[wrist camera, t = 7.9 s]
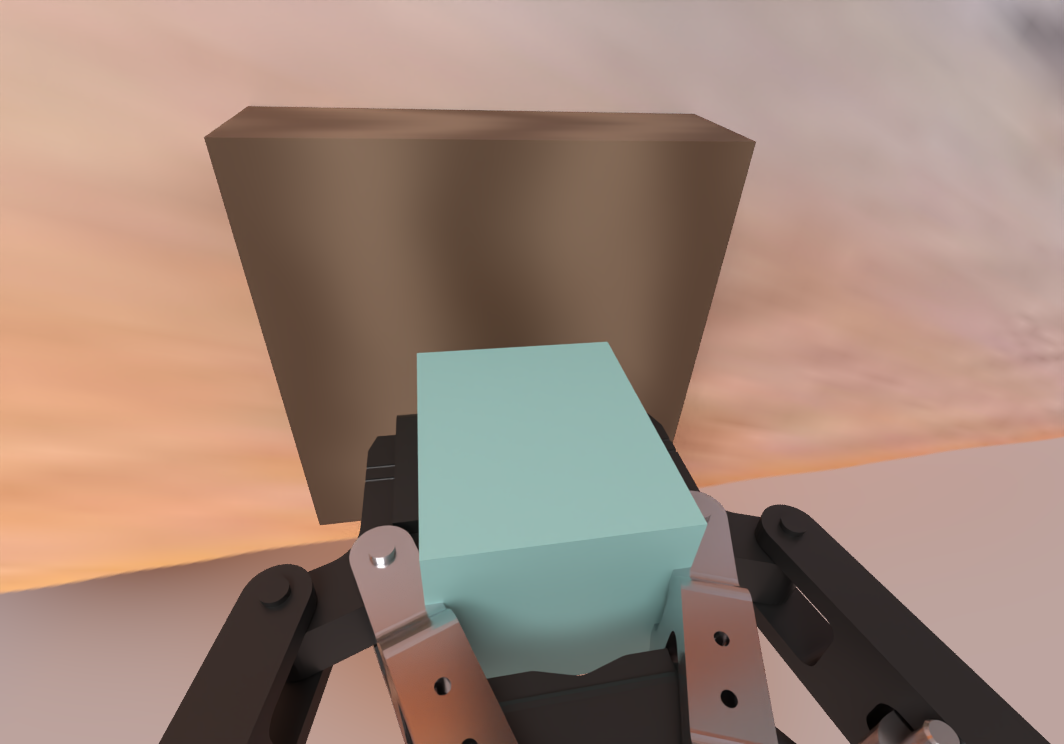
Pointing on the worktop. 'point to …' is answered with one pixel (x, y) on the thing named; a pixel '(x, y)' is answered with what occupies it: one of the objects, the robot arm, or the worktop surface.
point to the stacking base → (468, 253)
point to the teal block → (546, 506)
